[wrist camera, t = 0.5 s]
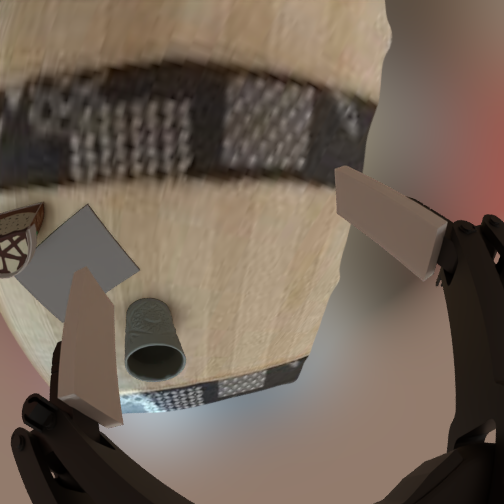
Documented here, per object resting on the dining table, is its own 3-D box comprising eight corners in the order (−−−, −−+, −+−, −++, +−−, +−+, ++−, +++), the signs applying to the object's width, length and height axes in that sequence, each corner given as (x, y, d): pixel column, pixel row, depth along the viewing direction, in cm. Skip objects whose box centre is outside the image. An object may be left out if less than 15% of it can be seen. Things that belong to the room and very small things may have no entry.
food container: (2, 249, 30) (-20, 287, 22) (-9, 215, 26) (-36, 248, 19) (60, 237, 34) (44, 275, 26) (51, 199, 31) (29, 231, 23)
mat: (11, 271, 32) (11, 273, 32) (87, 203, 33) (87, 204, 33) (62, 321, 41) (62, 322, 40) (139, 269, 42) (139, 270, 42)
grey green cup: (146, 339, 51) (154, 388, 41) (110, 313, 44) (111, 365, 35) (183, 314, 51) (198, 363, 41) (150, 283, 44) (158, 335, 35)
